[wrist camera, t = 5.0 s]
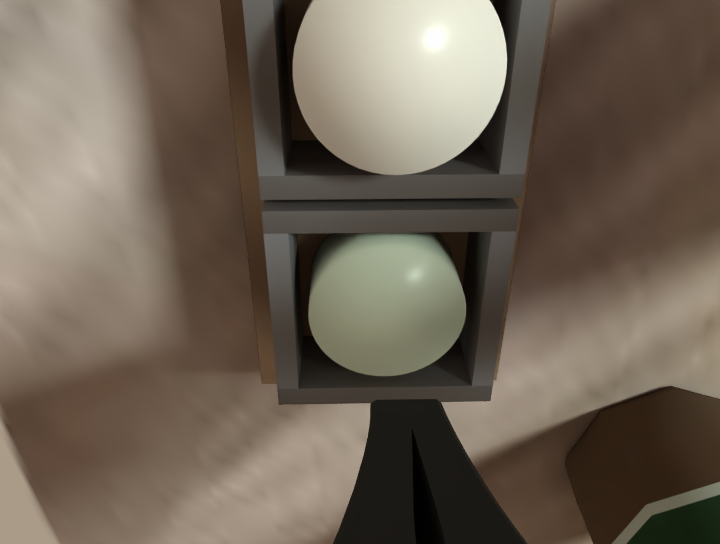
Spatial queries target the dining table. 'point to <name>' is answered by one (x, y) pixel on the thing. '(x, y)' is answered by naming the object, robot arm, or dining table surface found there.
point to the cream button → (399, 79)
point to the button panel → (374, 207)
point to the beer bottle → (651, 470)
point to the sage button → (385, 301)
